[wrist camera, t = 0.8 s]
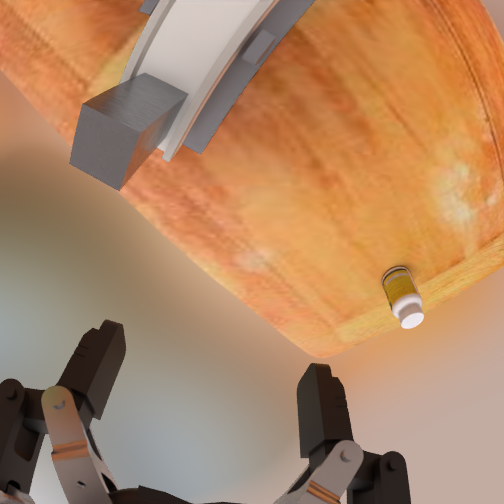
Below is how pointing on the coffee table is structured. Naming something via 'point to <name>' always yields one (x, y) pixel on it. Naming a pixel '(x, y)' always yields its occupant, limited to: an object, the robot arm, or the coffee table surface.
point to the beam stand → (240, 67)
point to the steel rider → (124, 128)
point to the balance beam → (193, 51)
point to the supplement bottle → (403, 297)
